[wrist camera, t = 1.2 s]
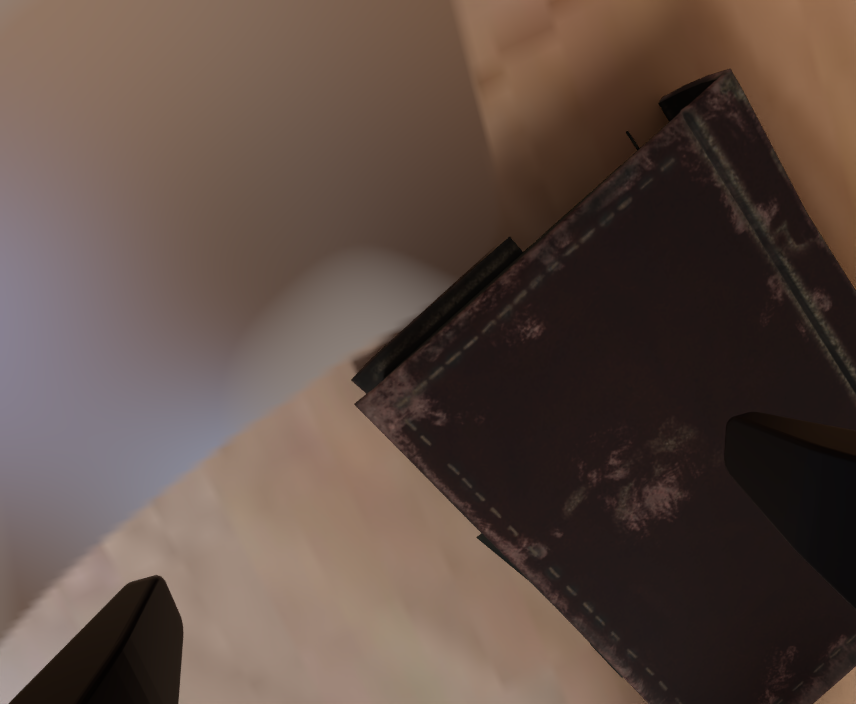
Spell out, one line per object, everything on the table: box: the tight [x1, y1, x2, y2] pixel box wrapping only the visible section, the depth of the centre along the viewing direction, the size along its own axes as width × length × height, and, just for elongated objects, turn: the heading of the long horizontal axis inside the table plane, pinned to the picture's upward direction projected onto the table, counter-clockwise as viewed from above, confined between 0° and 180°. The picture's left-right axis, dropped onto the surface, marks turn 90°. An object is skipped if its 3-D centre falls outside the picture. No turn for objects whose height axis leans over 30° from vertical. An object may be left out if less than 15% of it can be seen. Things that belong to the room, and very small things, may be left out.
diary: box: [352, 69, 856, 704], centre depth 23 cm, size 19×25×5 cm
